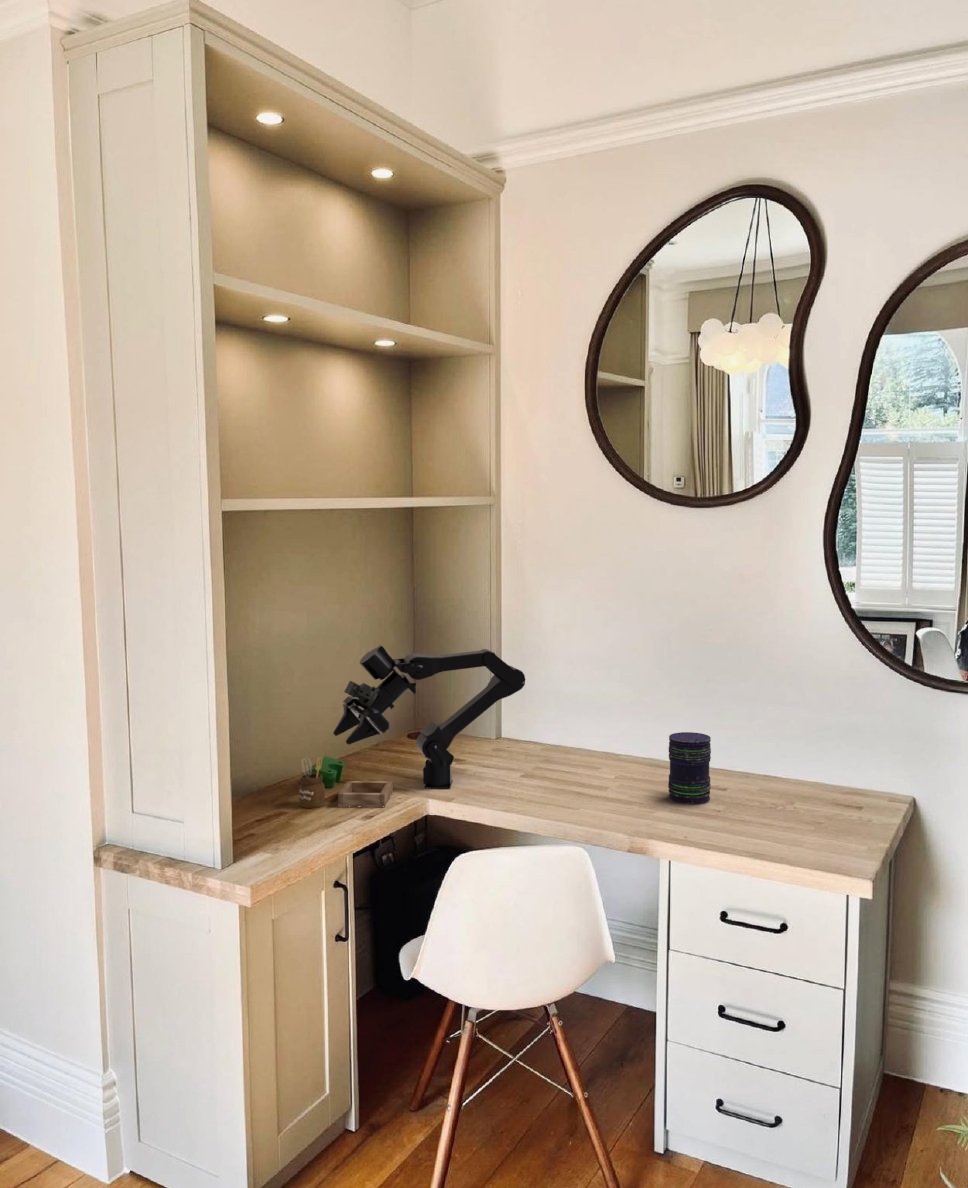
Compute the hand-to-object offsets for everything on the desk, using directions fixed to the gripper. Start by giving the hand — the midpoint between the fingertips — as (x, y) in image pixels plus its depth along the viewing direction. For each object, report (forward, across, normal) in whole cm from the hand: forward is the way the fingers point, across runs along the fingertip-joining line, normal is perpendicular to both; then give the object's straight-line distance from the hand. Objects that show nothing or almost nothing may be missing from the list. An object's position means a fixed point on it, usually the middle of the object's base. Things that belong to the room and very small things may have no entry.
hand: (340, 738), depth 241 cm
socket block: (+6, +5, +14) cm, 16 cm away
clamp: (+9, -12, +12) cm, 20 cm away
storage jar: (-47, +41, +57) cm, 85 cm away
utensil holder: (+16, +2, +6) cm, 17 cm away
